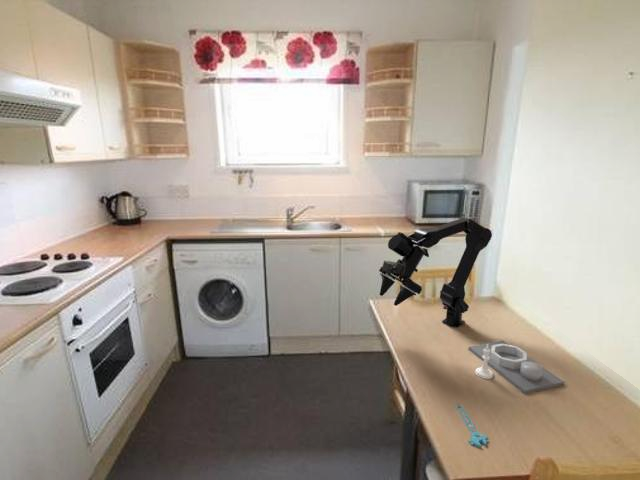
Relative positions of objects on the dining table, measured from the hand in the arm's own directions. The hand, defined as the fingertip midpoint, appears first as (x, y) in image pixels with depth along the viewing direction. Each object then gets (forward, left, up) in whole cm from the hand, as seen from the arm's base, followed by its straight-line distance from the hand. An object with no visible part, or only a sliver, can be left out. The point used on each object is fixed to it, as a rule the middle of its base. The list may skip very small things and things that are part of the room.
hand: (387, 300), depth 129 cm
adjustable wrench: (+20, +40, -15) cm, 47 cm away
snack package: (-43, +1, -16) cm, 46 cm away
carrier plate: (-14, +38, -15) cm, 43 cm away
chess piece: (-4, +34, -15) cm, 37 cm away
